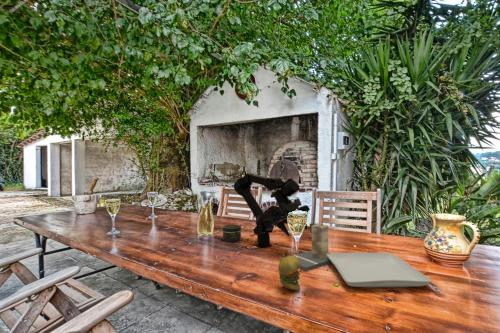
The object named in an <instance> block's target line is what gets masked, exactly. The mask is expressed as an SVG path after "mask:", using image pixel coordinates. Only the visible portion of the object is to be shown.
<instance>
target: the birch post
mask: <svg viewBox="0 0 500 333" xmlns="http://www.w3.org/2000/svg"><path fill="white" fill-rule="evenodd" d="M321 224H322V223H318V224H317V223H316V225H313V226H311V232H312V235H311V251H312V257H316V258H320V259H324V258H326V257H327V255H326V254H328V253H329V225H326V224H322V225H321ZM311 232H310V233H311Z"/></svg>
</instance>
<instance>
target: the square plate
mask: <svg viewBox="0 0 500 333" xmlns="http://www.w3.org/2000/svg"><path fill="white" fill-rule="evenodd" d="M328 253H329V254H326V255H327V257H328V258H329V259H330V261H331V262H332V263H331V264H333V265H334V267H335V268H336V270H337V271H338V273H339V275H340V276H341V278H342V279H343V280H344V282H345V283H346V285H347V286H350V287H356V288H358V287H359V288H408V287H424V286H427V285H429V284H431V283H432V282H433V280H432V279H430V278H429V277H428V276H427V275H425V274H423V273H422V272H421V271H420V270H418V269H416V268H415V267H413V266H412V265H411V264H409V263H407V261H405V260H403V259H401V258H400V257H398V256H397V255H395V254H394V253H391V252H337V253H335V252H333V253H332V252H331V253H330V252H328Z"/></svg>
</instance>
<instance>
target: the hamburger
mask: <svg viewBox="0 0 500 333" xmlns="http://www.w3.org/2000/svg"><path fill="white" fill-rule="evenodd" d="M281 255H282V256H283V258H282V259H281V260H280V261H279V263H278V272H279V273H278V275H279V277H278V278H279V281H280V283H281V285H282V286H284V287H285V288H286V289H289V290H291V291H299V289H301V285H300V275H301V274H300V271H299V268H300V266H301V263H300V260H299V259H298V258H297V257H295V256H293V255H288V256H285V253H281Z"/></svg>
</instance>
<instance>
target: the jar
mask: <svg viewBox="0 0 500 333" xmlns="http://www.w3.org/2000/svg"><path fill="white" fill-rule="evenodd" d="M241 238H242V227H241V225H239V224H226V225H223V226H222V239H223V241H224V242H225V243H230V244H232V243H238V242H240V241H241Z"/></svg>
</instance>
